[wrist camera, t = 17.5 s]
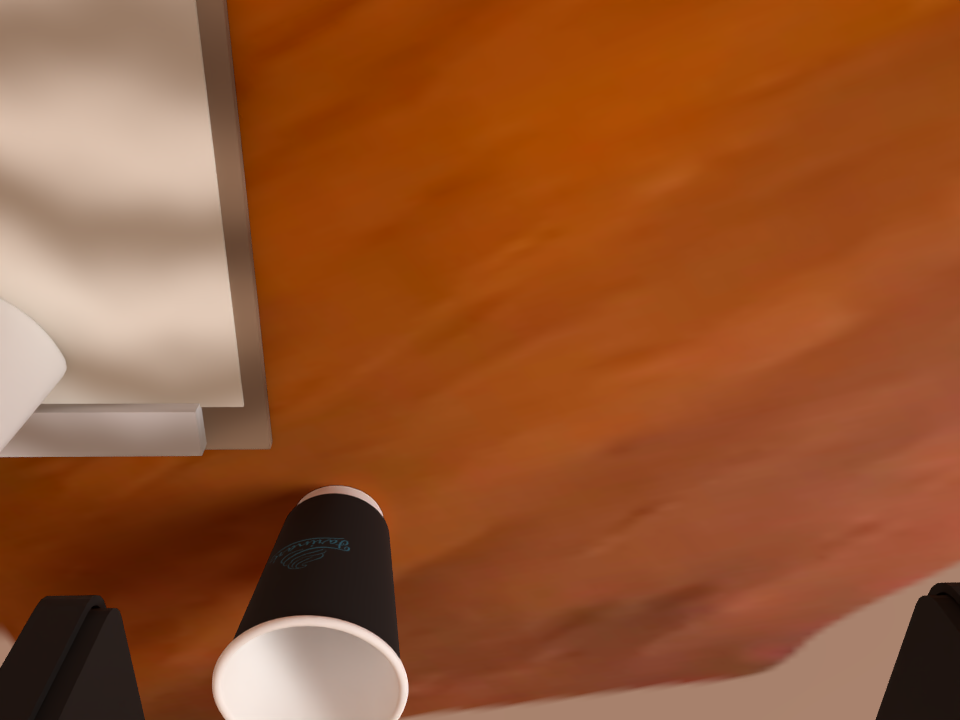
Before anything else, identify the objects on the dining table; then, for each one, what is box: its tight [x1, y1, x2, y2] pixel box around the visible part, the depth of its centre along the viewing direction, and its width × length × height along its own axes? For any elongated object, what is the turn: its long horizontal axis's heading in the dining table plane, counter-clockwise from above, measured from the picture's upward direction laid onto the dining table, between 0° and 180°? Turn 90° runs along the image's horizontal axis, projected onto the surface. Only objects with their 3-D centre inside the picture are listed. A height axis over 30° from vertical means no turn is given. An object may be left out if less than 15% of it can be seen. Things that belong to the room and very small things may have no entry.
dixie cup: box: [212, 486, 408, 720], centre depth 39 cm, size 8×8×11 cm
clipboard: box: [0, 0, 272, 457], centre depth 35 cm, size 22×16×2 cm
